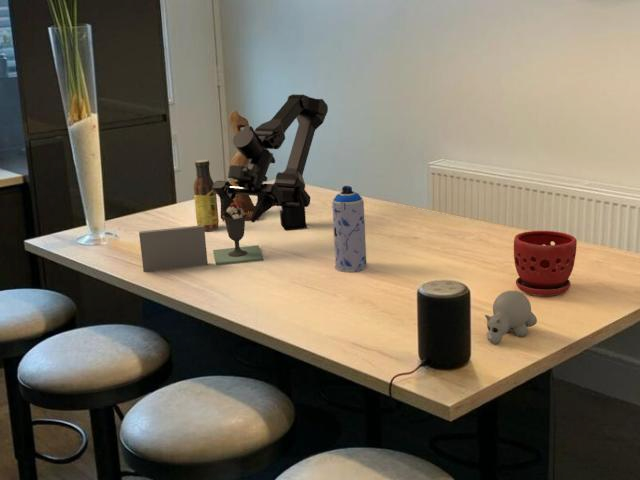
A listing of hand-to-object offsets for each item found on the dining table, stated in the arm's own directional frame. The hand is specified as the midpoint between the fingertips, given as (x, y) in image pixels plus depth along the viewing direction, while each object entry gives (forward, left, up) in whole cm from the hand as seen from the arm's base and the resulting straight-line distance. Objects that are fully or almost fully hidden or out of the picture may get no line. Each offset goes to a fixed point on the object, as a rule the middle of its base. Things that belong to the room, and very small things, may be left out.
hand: (236, 220), depth 242 cm
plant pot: (-62, +50, -10) cm, 80 cm away
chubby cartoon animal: (-45, +72, -10) cm, 86 cm away
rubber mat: (+1, +1, -9) cm, 9 cm away
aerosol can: (-25, +20, -10) cm, 34 cm away
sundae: (+1, +1, -9) cm, 9 cm away
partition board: (+17, +5, -9) cm, 20 cm away
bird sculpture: (-4, -39, -10) cm, 41 cm away
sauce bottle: (+7, -29, -10) cm, 31 cm away
